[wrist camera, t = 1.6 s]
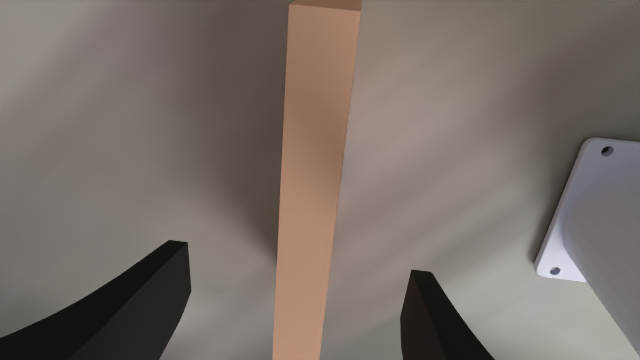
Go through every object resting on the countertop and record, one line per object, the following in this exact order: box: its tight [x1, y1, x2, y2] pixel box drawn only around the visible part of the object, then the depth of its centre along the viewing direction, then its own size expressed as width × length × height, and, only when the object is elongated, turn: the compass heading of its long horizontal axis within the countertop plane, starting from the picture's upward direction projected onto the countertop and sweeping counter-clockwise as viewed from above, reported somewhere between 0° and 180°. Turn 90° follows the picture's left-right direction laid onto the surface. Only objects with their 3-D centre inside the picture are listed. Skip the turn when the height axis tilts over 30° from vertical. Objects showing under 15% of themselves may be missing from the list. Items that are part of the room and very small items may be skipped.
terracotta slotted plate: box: [273, 0, 361, 360], centre depth 18 cm, size 16×2×7 cm, turn 175°
